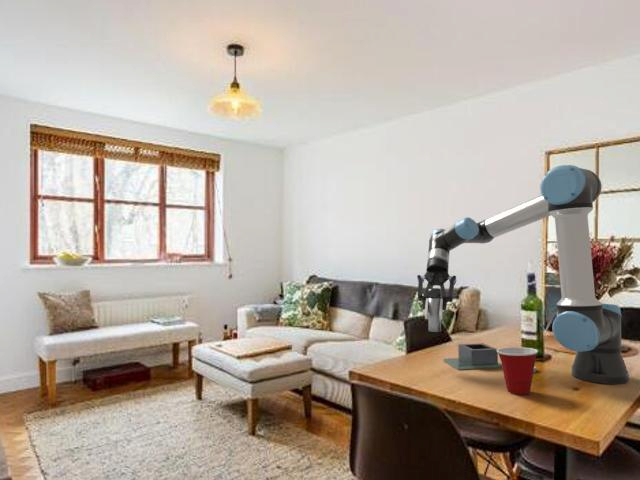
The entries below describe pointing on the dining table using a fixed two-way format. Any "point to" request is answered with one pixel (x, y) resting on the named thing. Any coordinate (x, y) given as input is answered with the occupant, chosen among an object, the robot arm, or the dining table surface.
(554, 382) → the dining table surface
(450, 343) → the dining table surface
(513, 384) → the plastic cup
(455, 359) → the block
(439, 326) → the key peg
